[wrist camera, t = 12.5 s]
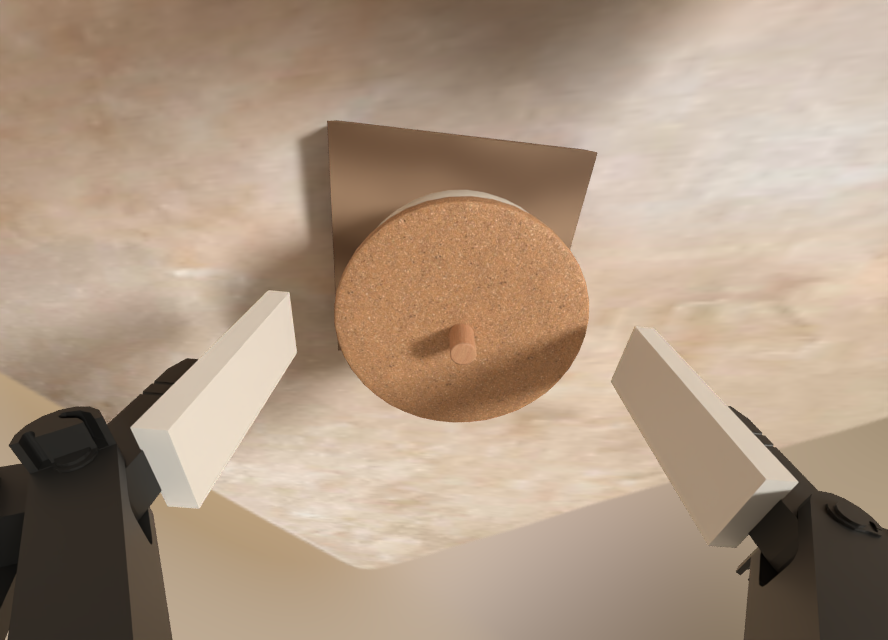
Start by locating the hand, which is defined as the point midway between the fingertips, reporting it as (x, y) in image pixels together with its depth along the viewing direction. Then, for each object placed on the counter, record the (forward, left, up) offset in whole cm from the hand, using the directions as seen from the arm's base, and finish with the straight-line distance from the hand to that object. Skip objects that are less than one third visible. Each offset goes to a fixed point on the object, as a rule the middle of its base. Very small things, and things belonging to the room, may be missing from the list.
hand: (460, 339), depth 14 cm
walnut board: (0, 0, -11) cm, 11 cm away
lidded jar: (0, 0, -9) cm, 9 cm away
